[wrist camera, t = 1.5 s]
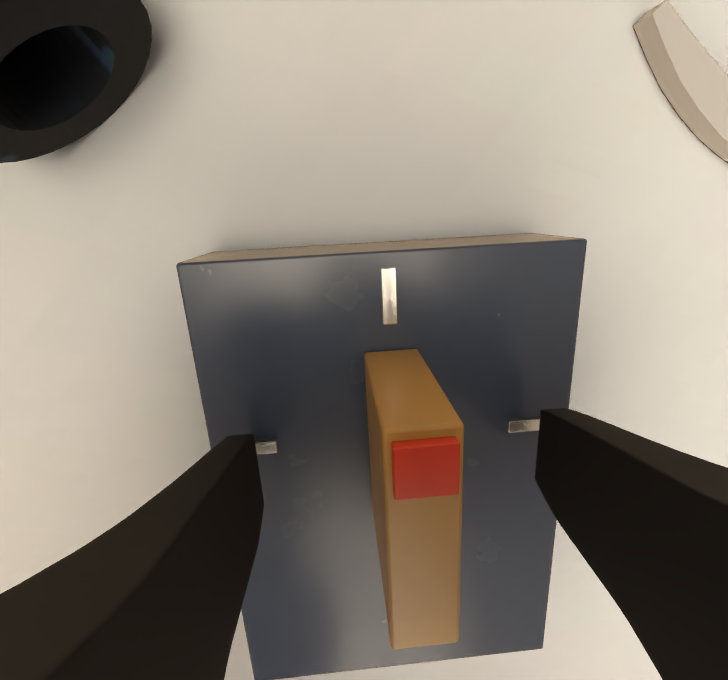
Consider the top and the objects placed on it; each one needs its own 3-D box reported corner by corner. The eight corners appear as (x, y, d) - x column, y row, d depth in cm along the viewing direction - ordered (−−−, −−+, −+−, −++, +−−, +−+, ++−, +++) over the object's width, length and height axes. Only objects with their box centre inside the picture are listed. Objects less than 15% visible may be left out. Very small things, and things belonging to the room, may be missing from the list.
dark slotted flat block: (508, 576, 17) (545, 654, 14) (267, 602, 17) (253, 687, 14) (531, 233, 13) (592, 238, 10) (211, 252, 12) (172, 264, 9)
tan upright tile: (420, 507, 12) (463, 656, 8) (372, 512, 12) (392, 664, 8) (417, 347, 11) (469, 431, 7) (364, 351, 10) (383, 438, 6)
